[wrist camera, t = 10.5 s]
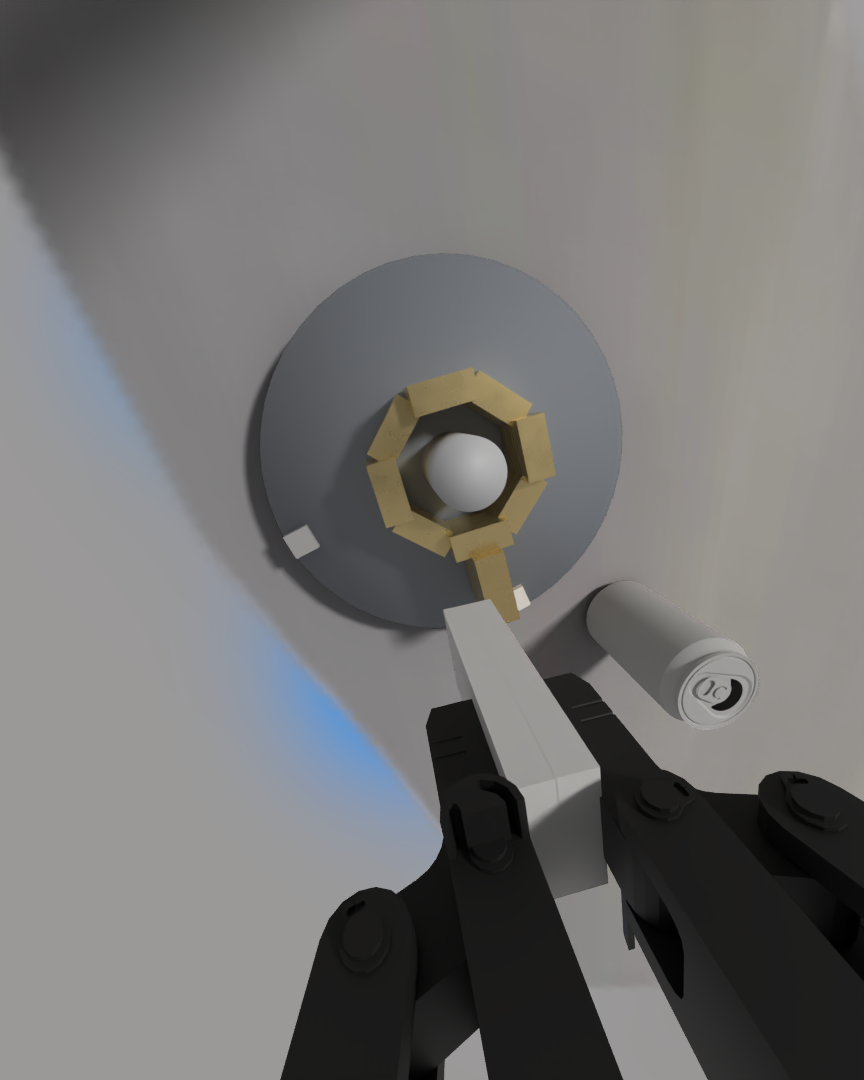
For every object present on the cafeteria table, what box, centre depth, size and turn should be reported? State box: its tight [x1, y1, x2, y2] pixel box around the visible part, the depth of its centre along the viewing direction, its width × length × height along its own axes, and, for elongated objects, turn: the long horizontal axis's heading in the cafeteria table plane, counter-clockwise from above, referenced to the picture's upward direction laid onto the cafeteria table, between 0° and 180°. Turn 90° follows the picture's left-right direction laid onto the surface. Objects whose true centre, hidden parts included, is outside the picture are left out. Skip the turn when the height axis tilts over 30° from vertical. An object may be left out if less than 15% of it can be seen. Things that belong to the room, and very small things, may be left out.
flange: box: [260, 253, 622, 628], centre depth 28 cm, size 26×26×8 cm
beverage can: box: [586, 581, 760, 730], centre depth 32 cm, size 6×6×12 cm
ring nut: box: [366, 367, 556, 623], centre depth 28 cm, size 16×11×5 cm
